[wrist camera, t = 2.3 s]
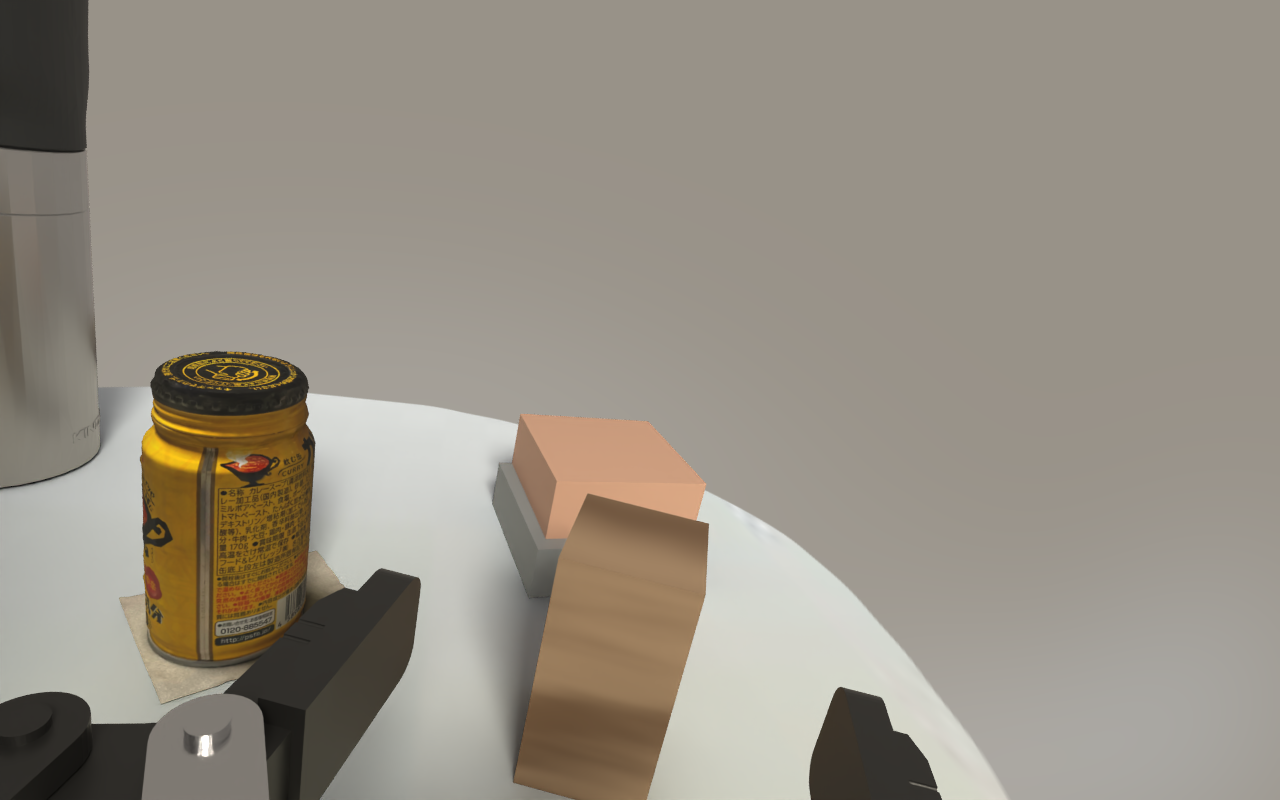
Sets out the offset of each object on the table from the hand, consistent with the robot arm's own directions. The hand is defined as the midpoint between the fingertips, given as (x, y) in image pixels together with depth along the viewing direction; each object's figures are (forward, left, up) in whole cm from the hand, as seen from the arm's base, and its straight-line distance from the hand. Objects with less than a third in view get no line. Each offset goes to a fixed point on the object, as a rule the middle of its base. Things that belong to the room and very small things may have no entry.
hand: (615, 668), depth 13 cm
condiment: (-7, +20, -14) cm, 26 cm away
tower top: (+11, +25, -11) cm, 30 cm away
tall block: (+6, +10, -14) cm, 18 cm away
